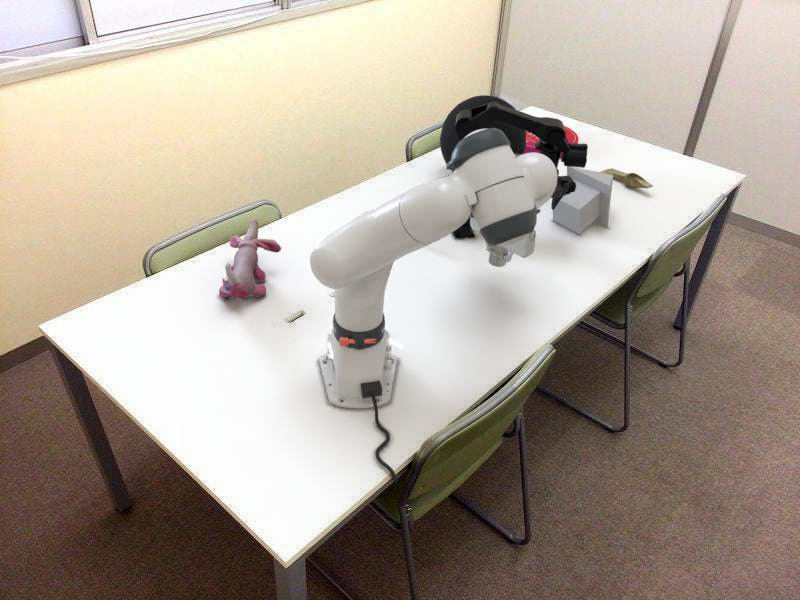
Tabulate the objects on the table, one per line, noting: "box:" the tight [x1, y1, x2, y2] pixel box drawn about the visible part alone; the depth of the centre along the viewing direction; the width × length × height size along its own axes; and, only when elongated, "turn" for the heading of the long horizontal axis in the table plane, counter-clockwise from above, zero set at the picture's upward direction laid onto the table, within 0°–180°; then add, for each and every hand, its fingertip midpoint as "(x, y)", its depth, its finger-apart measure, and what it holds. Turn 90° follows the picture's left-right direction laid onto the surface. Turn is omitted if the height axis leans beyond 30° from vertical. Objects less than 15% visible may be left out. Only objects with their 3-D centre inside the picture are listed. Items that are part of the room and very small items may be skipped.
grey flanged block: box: [552, 166, 614, 235], centre depth 214 cm, size 17×24×18 cm
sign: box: [524, 125, 579, 159], centre depth 266 cm, size 30×4×30 cm
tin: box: [488, 246, 509, 268], centre depth 180 cm, size 5×5×4 cm
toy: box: [218, 218, 282, 301], centre depth 179 cm, size 19×24×15 cm
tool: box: [601, 167, 654, 189], centre depth 240 cm, size 22×6×5 cm, turn 26°
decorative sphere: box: [439, 94, 526, 172], centre depth 230 cm, size 30×30×30 cm
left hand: (498, 255), depth 180 cm, fingers closed on tin, 5 cm apart
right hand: (538, 210), depth 201 cm, fingers open, 9 cm apart
